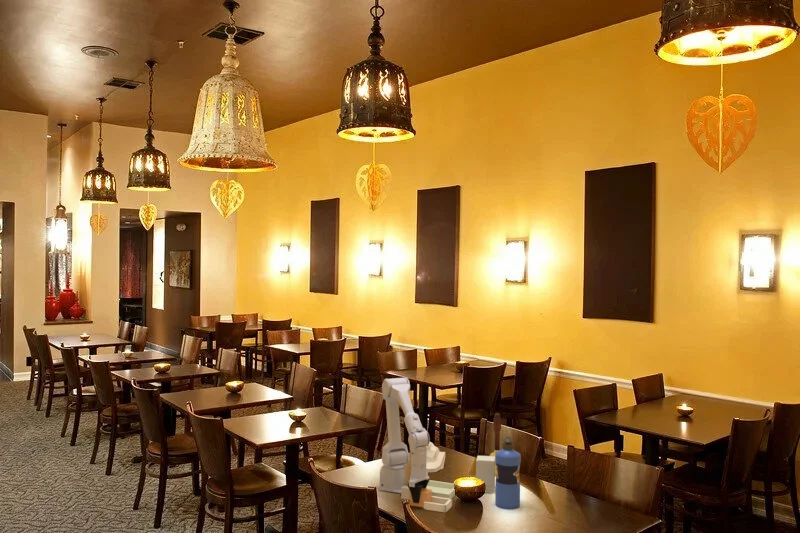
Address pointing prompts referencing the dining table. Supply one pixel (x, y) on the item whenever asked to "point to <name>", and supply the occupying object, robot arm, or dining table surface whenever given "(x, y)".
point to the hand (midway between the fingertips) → (418, 500)
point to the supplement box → (486, 471)
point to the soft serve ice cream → (434, 458)
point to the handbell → (496, 435)
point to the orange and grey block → (424, 496)
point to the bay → (438, 504)
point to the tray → (441, 489)
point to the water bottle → (507, 476)
